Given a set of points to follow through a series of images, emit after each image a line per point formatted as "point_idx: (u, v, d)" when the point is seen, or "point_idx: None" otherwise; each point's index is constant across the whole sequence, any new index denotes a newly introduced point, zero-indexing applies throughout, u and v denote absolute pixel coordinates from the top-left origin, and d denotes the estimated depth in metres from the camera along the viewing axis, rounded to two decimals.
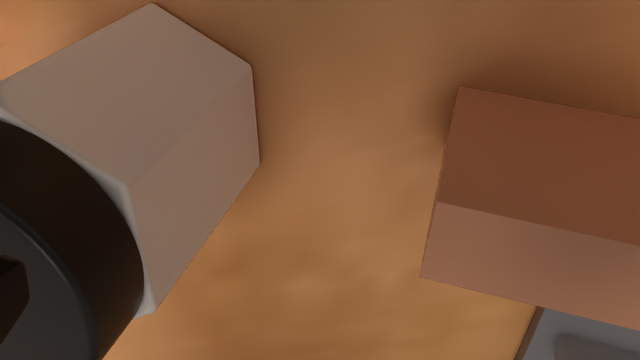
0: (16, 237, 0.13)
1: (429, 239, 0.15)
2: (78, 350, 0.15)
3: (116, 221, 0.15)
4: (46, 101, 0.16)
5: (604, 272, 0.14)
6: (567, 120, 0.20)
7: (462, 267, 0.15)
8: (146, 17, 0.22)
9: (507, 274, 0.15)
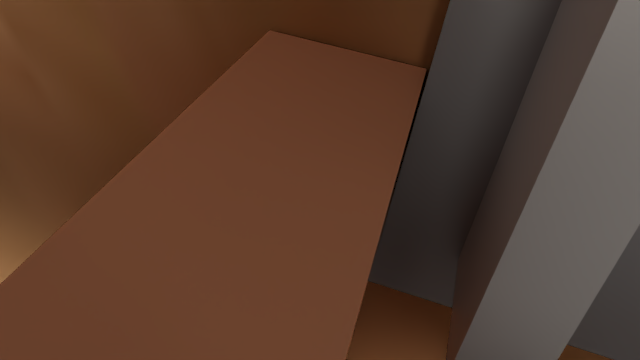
0: None
1: None
2: None
3: None
4: None
5: None
6: None
7: None
8: None
9: None
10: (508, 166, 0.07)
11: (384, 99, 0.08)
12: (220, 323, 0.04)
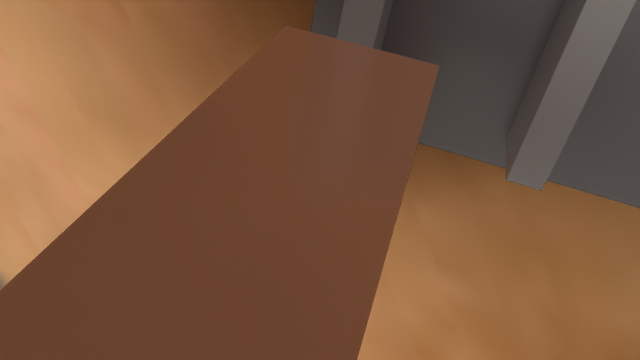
0: None
1: None
2: None
3: None
4: None
5: None
6: None
7: None
8: None
9: None
10: None
11: (399, 94, 0.08)
12: (243, 301, 0.04)
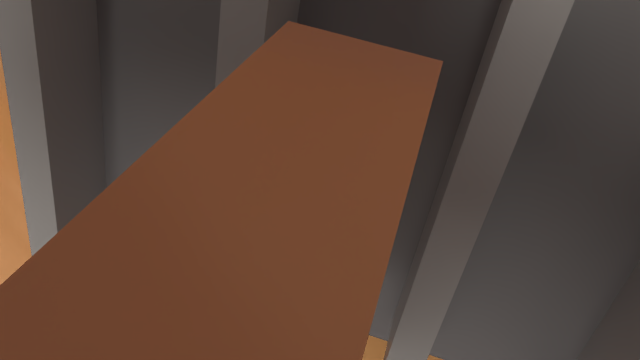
0: None
1: None
2: None
3: None
4: None
5: None
6: None
7: None
8: None
9: None
10: None
11: (402, 89, 0.08)
12: (249, 294, 0.04)
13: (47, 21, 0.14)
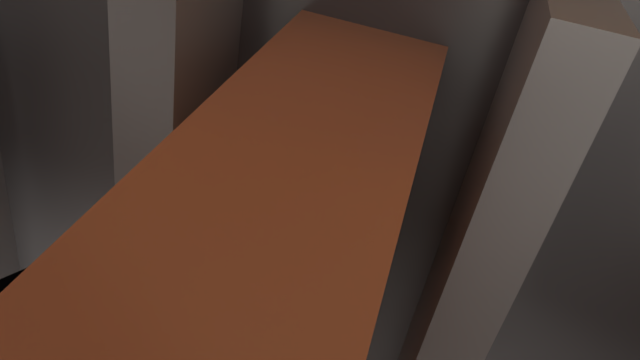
0: None
1: None
2: None
3: None
4: None
5: None
6: None
7: None
8: None
9: None
10: None
11: (411, 71, 0.08)
12: (281, 242, 0.05)
13: None
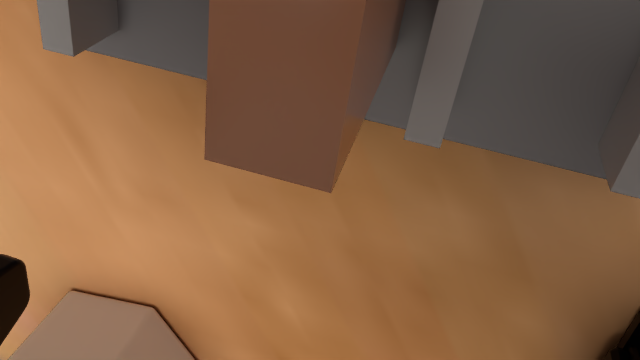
0: None
1: (262, 173, 0.11)
2: None
3: None
4: None
5: None
6: None
7: (303, 136, 0.10)
8: None
9: (304, 75, 0.10)
10: None
11: None
12: None
13: None
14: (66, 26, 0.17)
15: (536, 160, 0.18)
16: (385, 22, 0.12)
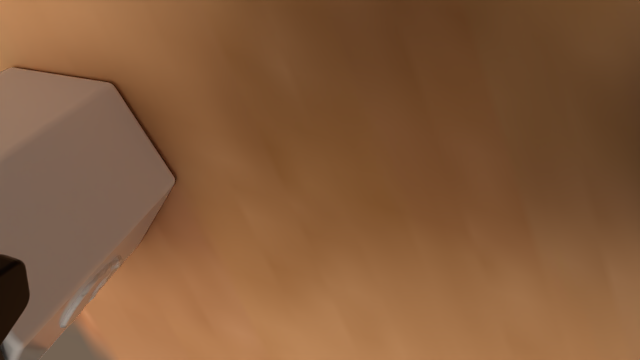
0: None
1: None
2: None
3: None
4: None
5: None
6: None
7: None
8: None
9: None
10: None
11: None
12: None
13: None
14: None
15: None
16: None
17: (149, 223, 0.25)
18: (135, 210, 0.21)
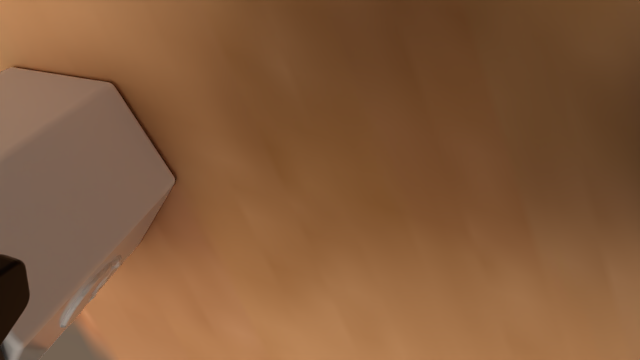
0: None
1: None
2: None
3: None
4: None
5: None
6: None
7: None
8: None
9: None
10: None
11: None
12: None
13: None
14: None
15: None
16: None
17: (149, 223, 0.25)
18: (135, 210, 0.21)
